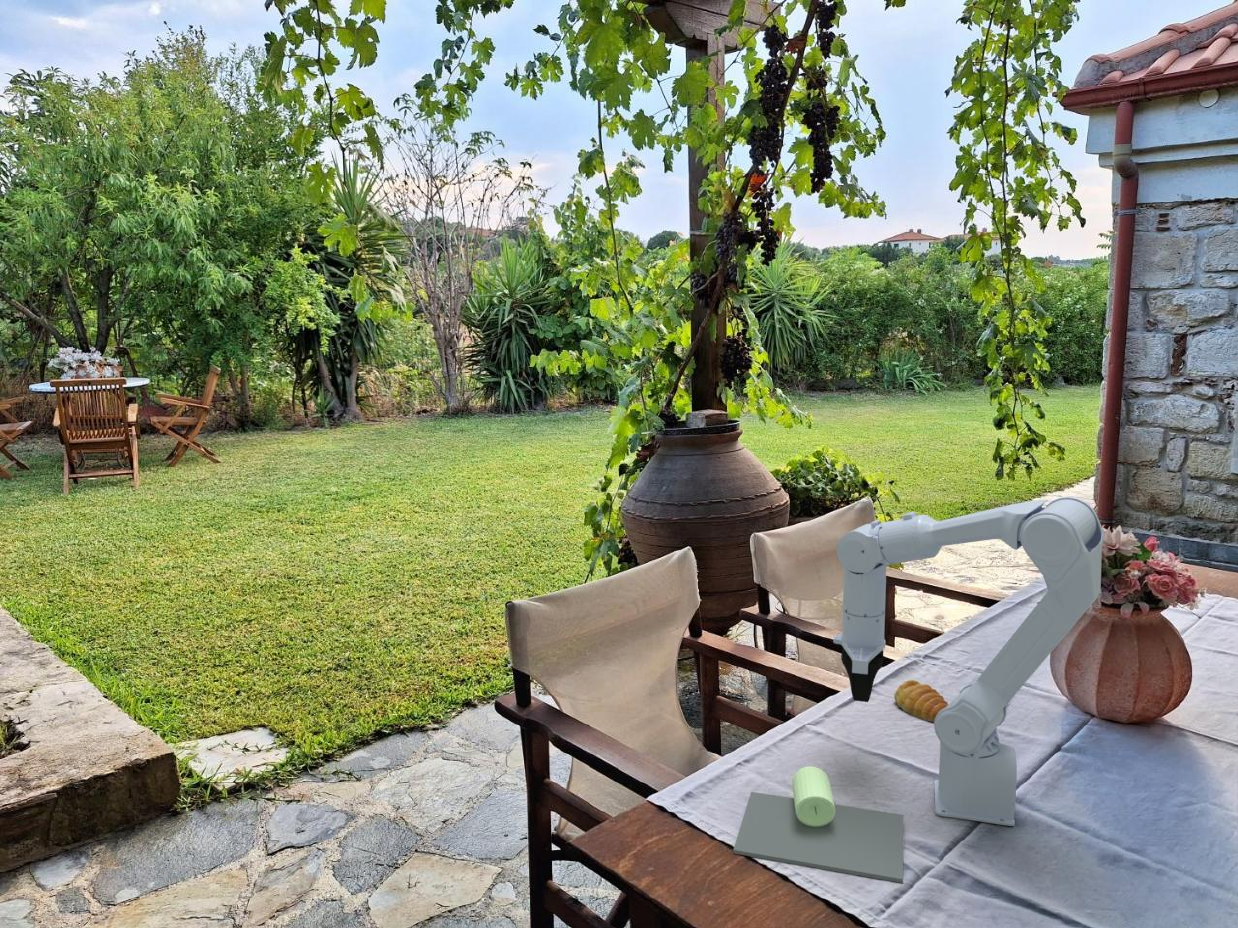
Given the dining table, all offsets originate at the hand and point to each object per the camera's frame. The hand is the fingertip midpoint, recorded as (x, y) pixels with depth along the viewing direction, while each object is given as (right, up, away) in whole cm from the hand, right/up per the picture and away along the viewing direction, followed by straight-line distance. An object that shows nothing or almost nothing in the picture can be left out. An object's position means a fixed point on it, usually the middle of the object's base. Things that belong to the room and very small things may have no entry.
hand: (861, 699), depth 123 cm
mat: (-9, -14, -13) cm, 21 cm away
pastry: (+15, -7, +18) cm, 25 cm away
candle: (-9, -10, -6) cm, 14 cm away
